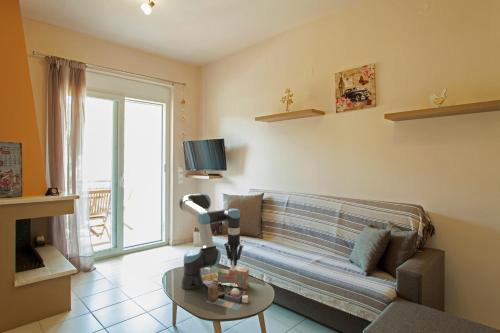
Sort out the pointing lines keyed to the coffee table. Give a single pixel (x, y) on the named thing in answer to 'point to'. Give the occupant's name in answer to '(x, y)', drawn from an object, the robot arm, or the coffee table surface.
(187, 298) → the coffee table surface
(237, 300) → the dome housing
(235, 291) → the dome
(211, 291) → the walnut block
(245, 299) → the ivory die
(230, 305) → the track mat
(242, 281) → the stack of blocks
